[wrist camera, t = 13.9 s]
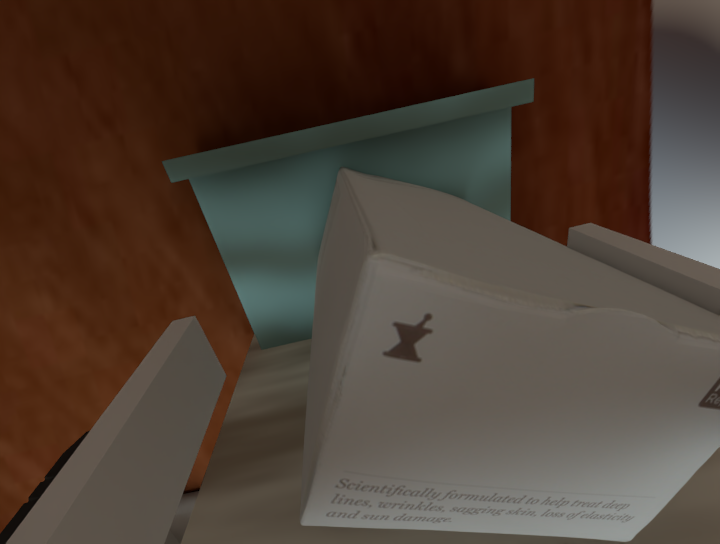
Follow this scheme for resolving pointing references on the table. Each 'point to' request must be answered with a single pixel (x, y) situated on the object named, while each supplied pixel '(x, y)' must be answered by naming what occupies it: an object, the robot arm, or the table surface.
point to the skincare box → (494, 376)
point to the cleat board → (297, 297)
